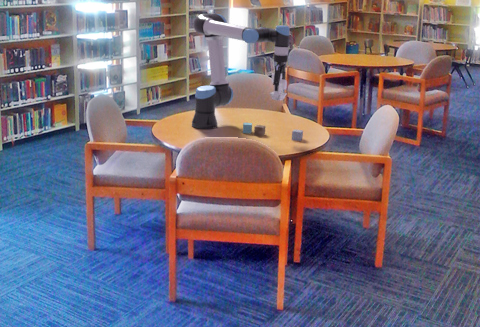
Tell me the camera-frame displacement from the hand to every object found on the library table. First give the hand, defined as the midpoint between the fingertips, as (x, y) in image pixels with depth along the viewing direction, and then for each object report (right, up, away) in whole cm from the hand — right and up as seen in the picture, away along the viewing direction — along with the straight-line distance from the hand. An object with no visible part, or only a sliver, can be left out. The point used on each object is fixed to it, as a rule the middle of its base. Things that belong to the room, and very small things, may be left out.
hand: (278, 95), depth 328 cm
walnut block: (-10, -22, +8) cm, 25 cm away
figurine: (0, -2, +1) cm, 3 cm away
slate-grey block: (+11, -25, +1) cm, 27 cm away
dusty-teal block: (-17, -20, +12) cm, 29 cm away
